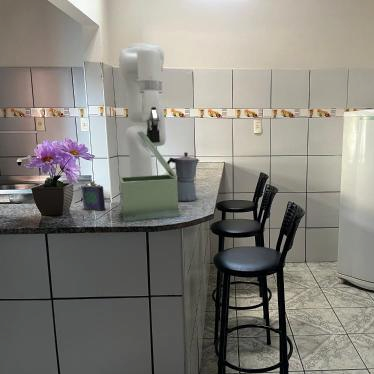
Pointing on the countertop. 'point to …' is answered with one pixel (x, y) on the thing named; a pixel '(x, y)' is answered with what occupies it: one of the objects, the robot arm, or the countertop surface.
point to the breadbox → (148, 197)
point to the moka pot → (185, 177)
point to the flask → (93, 197)
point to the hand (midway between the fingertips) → (153, 141)
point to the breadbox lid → (156, 153)
